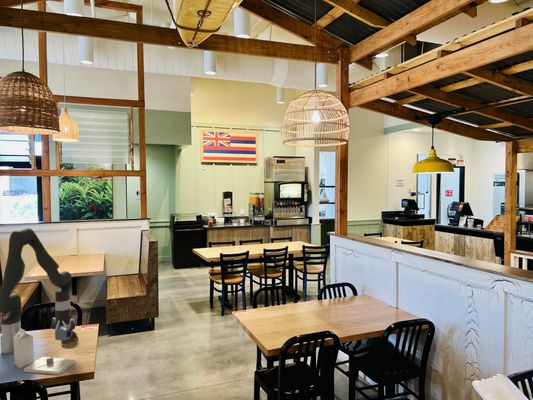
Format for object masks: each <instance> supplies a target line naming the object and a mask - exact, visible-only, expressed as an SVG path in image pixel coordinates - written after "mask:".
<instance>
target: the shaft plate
mask: <svg viewBox="0 0 533 400" xmlns="http://www.w3.org/2000/svg"><path fill="white" fill-rule="evenodd" d="M75 363H76V359H74V358H61V357H54V356H51V357H47V356H42V357H40V358H38V359H37V360H34V363H32V364H29V365H26V366H25V368H24V367H23V372H24V373H26V372H27V373H37V374H47V373H48V375H60V374H61V373H63V372H64V371H65V370H67V369H68V368H69V367H71V366H72V365H73V364H75Z"/></svg>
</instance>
